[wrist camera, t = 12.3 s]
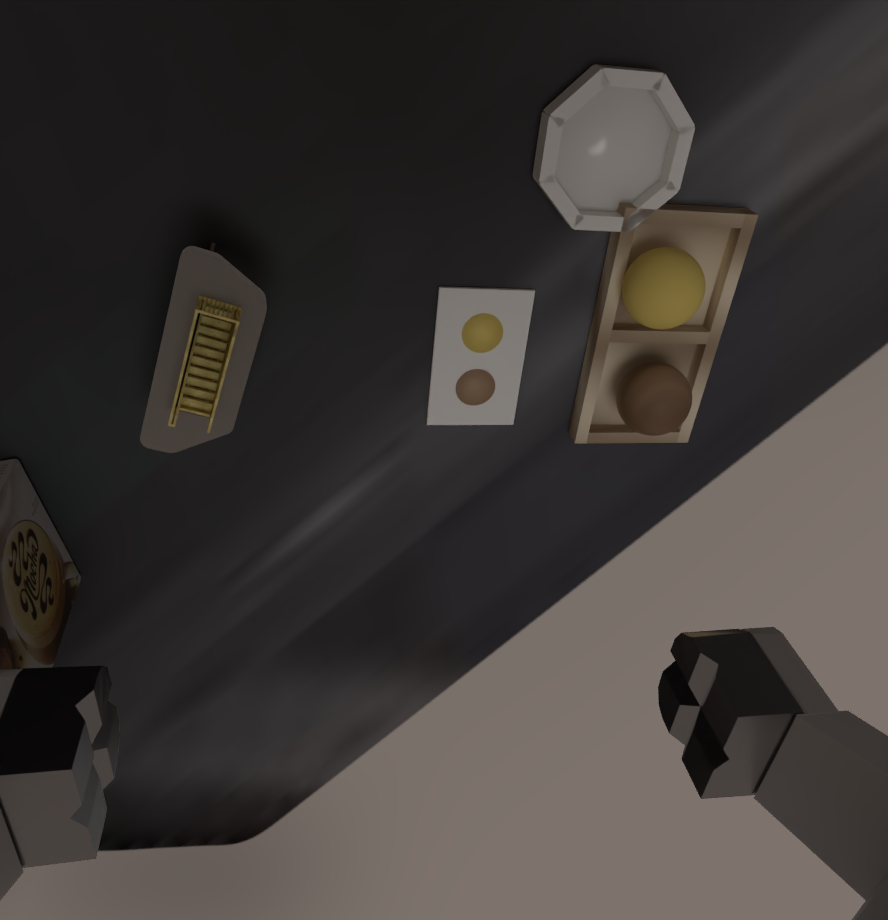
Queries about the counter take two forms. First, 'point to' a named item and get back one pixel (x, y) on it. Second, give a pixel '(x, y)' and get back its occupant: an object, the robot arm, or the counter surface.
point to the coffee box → (31, 576)
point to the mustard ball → (663, 288)
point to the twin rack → (632, 344)
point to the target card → (478, 355)
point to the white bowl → (612, 146)
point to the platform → (203, 352)
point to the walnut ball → (654, 398)
